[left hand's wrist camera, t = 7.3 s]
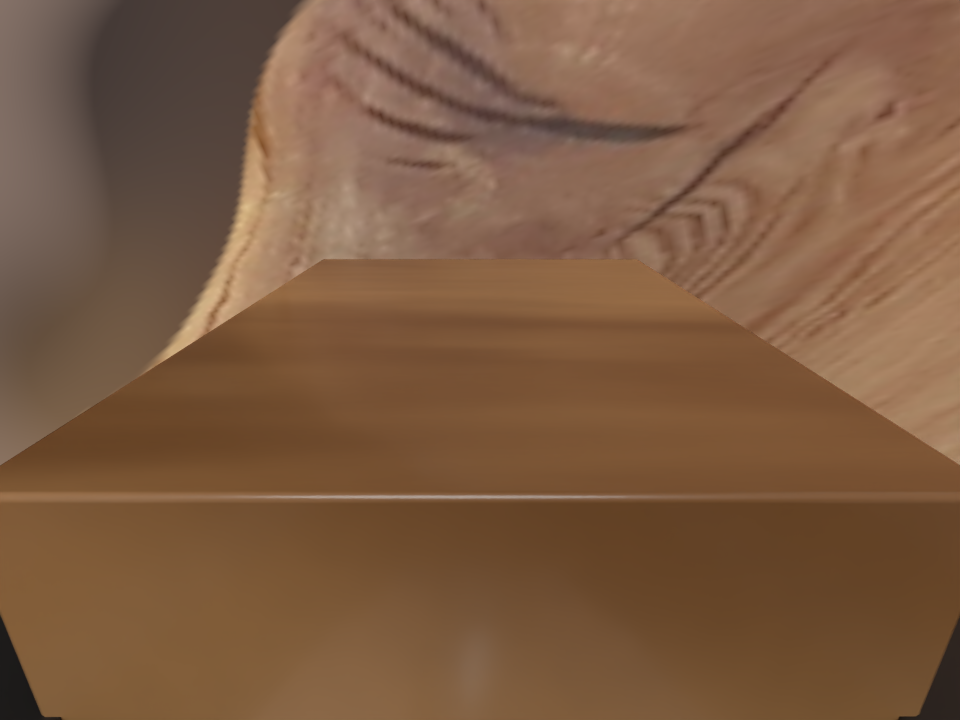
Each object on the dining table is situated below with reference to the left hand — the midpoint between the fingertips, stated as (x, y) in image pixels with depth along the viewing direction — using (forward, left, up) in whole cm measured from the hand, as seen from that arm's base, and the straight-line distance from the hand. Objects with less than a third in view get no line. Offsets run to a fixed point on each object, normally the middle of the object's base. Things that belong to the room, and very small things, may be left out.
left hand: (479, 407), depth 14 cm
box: (-8, +8, -1) cm, 11 cm away
